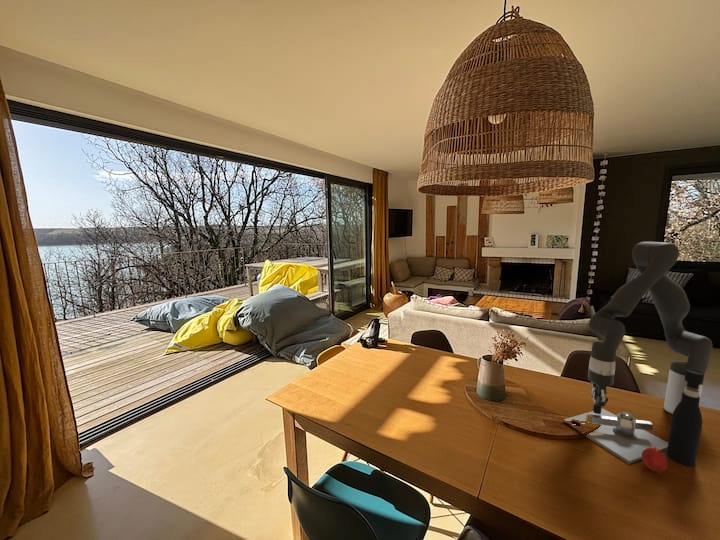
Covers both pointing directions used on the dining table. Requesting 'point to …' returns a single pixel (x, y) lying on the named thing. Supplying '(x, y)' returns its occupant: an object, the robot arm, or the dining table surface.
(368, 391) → the dining table surface
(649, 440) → the board
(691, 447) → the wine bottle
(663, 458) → the onion
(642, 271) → the robot arm
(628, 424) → the silver knobbed bar
